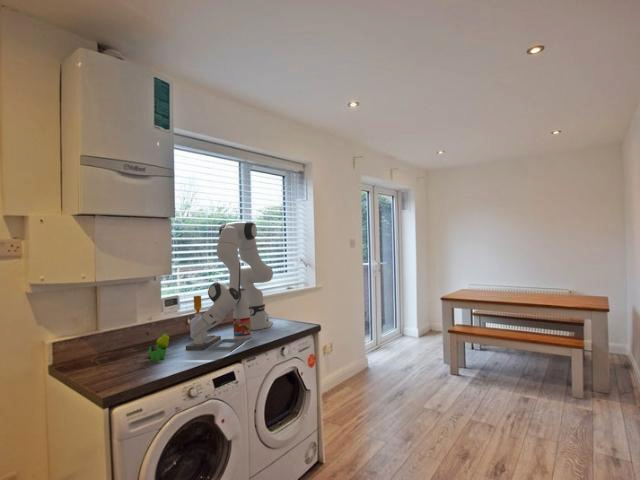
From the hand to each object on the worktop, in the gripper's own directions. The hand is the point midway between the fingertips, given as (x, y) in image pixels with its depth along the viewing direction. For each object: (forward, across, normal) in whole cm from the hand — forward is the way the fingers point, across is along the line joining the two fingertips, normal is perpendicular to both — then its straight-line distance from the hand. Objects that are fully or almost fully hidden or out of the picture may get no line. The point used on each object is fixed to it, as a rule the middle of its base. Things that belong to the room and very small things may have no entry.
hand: (198, 334), depth 188 cm
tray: (-5, -2, +15) cm, 16 cm away
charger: (+4, 0, +5) cm, 6 cm away
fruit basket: (+14, +16, -3) cm, 21 cm away
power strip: (+5, -4, +6) cm, 8 cm away
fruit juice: (-6, -19, +16) cm, 26 cm away
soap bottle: (+13, -20, -3) cm, 24 cm away
